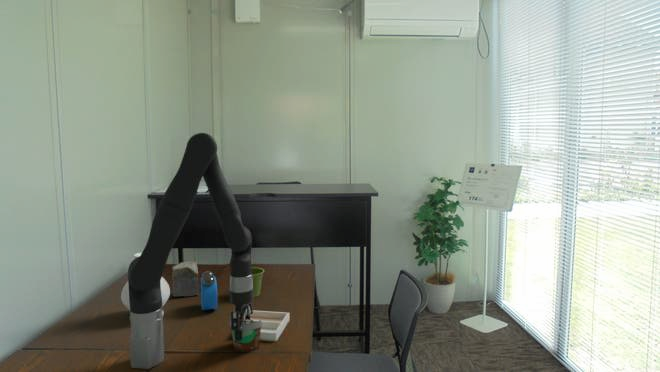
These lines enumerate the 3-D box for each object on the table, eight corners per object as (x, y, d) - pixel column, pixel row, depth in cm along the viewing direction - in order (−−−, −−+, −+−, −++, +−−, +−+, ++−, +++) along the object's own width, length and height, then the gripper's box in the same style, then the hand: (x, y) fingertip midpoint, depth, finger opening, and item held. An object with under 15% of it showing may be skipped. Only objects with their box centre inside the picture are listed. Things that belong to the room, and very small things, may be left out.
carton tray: (276, 341, 151) (276, 333, 150) (233, 338, 153) (233, 330, 153) (289, 320, 169) (289, 312, 168) (251, 317, 171) (250, 310, 171)
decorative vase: (179, 310, 179) (178, 250, 176) (151, 327, 162) (148, 261, 159) (143, 305, 183) (140, 247, 181) (111, 322, 166) (108, 258, 164)
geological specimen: (173, 299, 190) (172, 266, 189) (172, 295, 196) (171, 262, 194) (199, 296, 195) (198, 263, 193) (197, 291, 200) (196, 259, 199)
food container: (221, 348, 146) (221, 319, 145) (233, 341, 151) (233, 313, 150) (251, 356, 140) (250, 327, 139) (262, 348, 145) (262, 320, 144)
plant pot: (252, 289, 204) (252, 265, 203) (270, 294, 197) (269, 270, 195) (232, 296, 195) (231, 271, 194) (249, 302, 187) (249, 276, 186)
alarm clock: (217, 313, 175) (216, 277, 173) (201, 315, 173) (200, 279, 171) (215, 302, 187) (214, 268, 186) (200, 304, 185) (199, 269, 184)
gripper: (245, 295, 136) (246, 345, 138) (258, 281, 150) (260, 326, 152) (222, 294, 137) (224, 343, 139) (238, 280, 151) (239, 325, 153)
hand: (243, 334), depth 145 cm, fingers open, 8 cm apart
